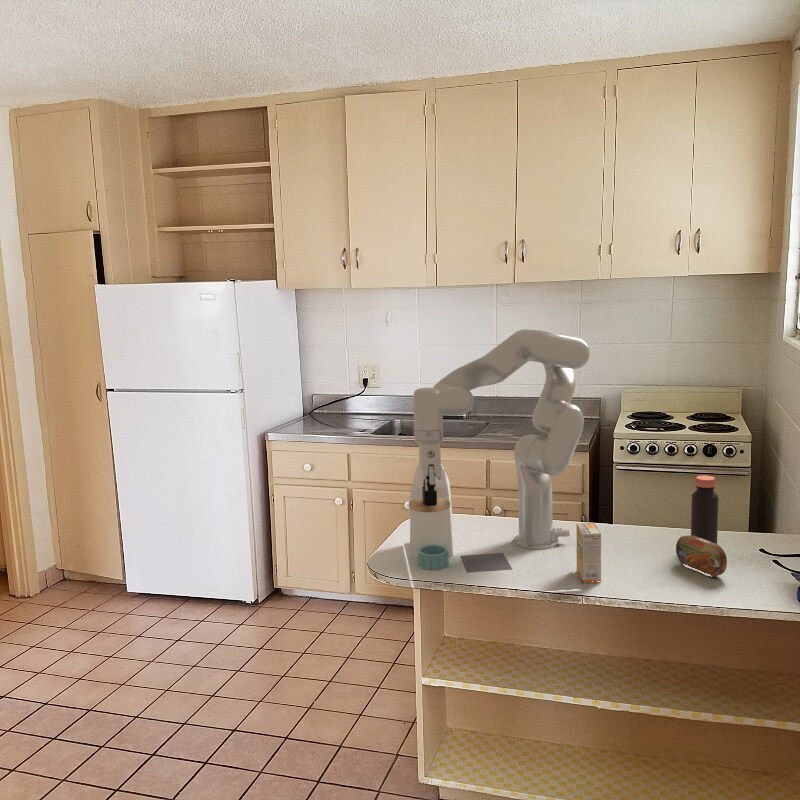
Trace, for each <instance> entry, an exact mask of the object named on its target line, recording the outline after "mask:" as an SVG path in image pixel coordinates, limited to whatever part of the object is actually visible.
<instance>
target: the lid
mask: <svg viewBox="0 0 800 800" xmlns="http://www.w3.org/2000/svg"><path fill="white" fill-rule="evenodd" d="M424 491H425V488H423V489H422V496H423V498H418V499H414V500H412V501H409V502H408V508H409V510H410V509H412V510H414V511H418V512H439V511H444V510H446V509H448V508H450V502H449V501H448V500H446V499H443V498H437V505H436V506H425V501H424Z"/></svg>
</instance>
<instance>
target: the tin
mask: <svg viewBox="0 0 800 800" xmlns="http://www.w3.org/2000/svg"><path fill="white" fill-rule="evenodd" d="M675 546H676V547H675V551H676V552H675V553H676V556H677V559H678V561H679V563H680V564H681V565H682V564H685V565H688V566H690V567H692V568H695V569H697V570H700V571H702V572H704V573H707V574H710V575H711V576H712V577H711V578H714V577H719V576H721V575H723V574H724V573H725V572H726V570H727V564H728V560H727V554H726V552H725V551H724V549H723V548H722V546H721V545H719V544H718V543H717V544H715V543H712V542H710V541H707V540H704V539H702V538H699V537H697V536H693V535H691V534H690V535H682V536H681V537H680V538H678V540H677V542H676V545H675Z"/></svg>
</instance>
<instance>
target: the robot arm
mask: <svg viewBox="0 0 800 800" xmlns="http://www.w3.org/2000/svg"><path fill="white" fill-rule="evenodd" d="M590 355H591V353H590V348H589V345H588V344H587V343H586V341H584V340H583V339H581V338H579V337H573V336H570V335H569V336H568V335H564V334H559V333H553V332H549V331H546V330H538V329H526V328H524V329H519V330H517V331H515V332H514V333H512V334H511V335H510V336H508V337H507V338H506V339H504V341H503V340H502V342H500V344H498V345H497V346H495V347H494V348H493V349H491V350H490V351H489V352H487V353H485V355H483V356H481V357H479V358H477V359H475V360H472V361H470V362H468V363H466V364H464V365H462V366H460V367H458V368H456V369H454V370H452V371H451V372H450V373H448V374H447V375H445V376H444V377H442V378H441V379H440V380H439V381H437V383H436V384H434V386H432V387H421V388H420V387H419V388H417V389H415V390H414V392H413V395H412V396H413V398H412V399H413V436H414V437H413V439H414V440H413V441H414V442H415V443H417V444H418V463H419V464H420V473H421V475H422V478H423V488H425V491H424V501H425V506H436V505H437V490H436V477H437V479H439V480H441V478H442V475H441V464H442V461H441V459H442V458H441V446H440V444H441V443H442V442H443V441H444V428H443V427H444V426H443V425H444V423H443V421H444V419H443V416H444V415H446V416H450V415H451V416H461V415H465V414H467V413H468V412H470V411H471V409H472V408H473V407H474V403H475V399H474V395H473V394H472V392H471V391H473V390H475V389H478V388H480V387H481V388H482V387H486V386H487V387H488V386H493V385H496V384H499V383H503V382H504V381H506V379H508V378H509V377H510V376H512V375H513V374H514V373H516V372H517V371H518V370H519V369H520V368H522V367H523V366H525V364H527V363H529V362H535V363H541V364H542V365H543V367H544V371H545V382H544V385H543V388H542V391H541V394H540V396H539V399H538V401H537V403H536V405H535V408H534V410H533V414H532V418H531V421H532V424H533V427H534V428H536V429H537V430H538V431H540V432H542V433H545V434H548V437H546V436H545V437H544V436H542V435H538V434H526V435H523V436H521V437H520V438H519V439H518V440H517V442H516V443H515V446H514V451H513V453H514V454H513V457H514V463H515V466H516V471H517V487H518V490H517V494H518V496H517V498H518V500H517V501H518V534H517V535H515V536H514V537H513V543H514V545H515V546H517V547H519V548H522V549H526V550H536V551H537V550H539V551H540V550H548V549H552V548H556V547H557V546H558V545H559V539H558V538H559V537H560V538H561V537H566V538H567V537H570V530H569V529H563V528H562V527H560V528H559V527H558V528H555V527H554V526H553V482H552V476H553V477H555V476H559V475H561V474H563V473H564V472H565V471H566V470H567V468H568V467H569V465H570V463H571V461H572V459H573V456H574V454H575V451H576V448H577V447H578V443H579V441H580V438H581V436H582V433H583V430H584V423H585V419H584V414H583V411H582V410H581V408H579V407H578V406H577V405H575V404H573V403H571V402H572V400H573V397H574V393H575V391H576V385H577V384H576V374H575V371H574V370H577V369H580V368H583V367H584V366H585V365H586V364H587V363H588V361H589V359H590Z"/></svg>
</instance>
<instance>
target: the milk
mask: <svg viewBox="0 0 800 800" xmlns="http://www.w3.org/2000/svg"><path fill="white" fill-rule="evenodd" d="M441 475H442V478H441V480H439V479H437V477H436V490H437V498H443V499H446V500H448V501H449V502H450V508H448V509H446V510H444V511H439V512H418V511H414V510H412V509H410V508H409V511H410V512H409V514H410V516H409V517H410V518H409V531H410V532H409V556H410V557H418V549H419V548H421V547H423V546H426V545H441V546H444V547H447V548H448V556H449V557H453V556H454V546H455V537H454V520H453V508H452V495H451V483H450V480H449V476H448V474H447V472H446V470H445V468H444V466H443V464H442V463H441ZM422 489H423V478H422V475H421V473H420V464H419V462H418V463H417V466H416V468H415V472H414V475H413V480H412V484H411V489H410V501H412V500H414V499H418V498H423V496H422ZM410 501H409V502H410Z"/></svg>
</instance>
